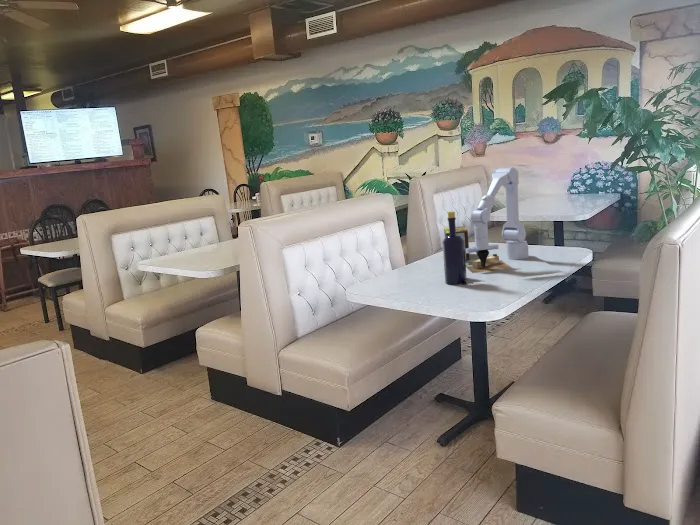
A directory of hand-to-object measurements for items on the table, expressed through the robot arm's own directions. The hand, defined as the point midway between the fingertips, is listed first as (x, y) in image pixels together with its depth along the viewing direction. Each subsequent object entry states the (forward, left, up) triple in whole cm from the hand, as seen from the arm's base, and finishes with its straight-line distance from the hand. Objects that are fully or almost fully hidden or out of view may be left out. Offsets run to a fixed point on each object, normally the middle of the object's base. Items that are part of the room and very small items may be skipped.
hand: (483, 266), depth 249 cm
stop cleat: (0, -12, -1) cm, 12 cm away
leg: (-3, -6, -1) cm, 6 cm away
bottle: (+15, +13, -2) cm, 20 cm away
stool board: (-3, -4, -2) cm, 5 cm away
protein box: (+5, -30, -2) cm, 31 cm away
